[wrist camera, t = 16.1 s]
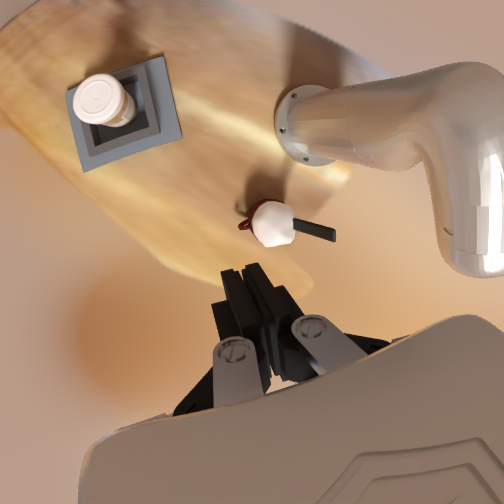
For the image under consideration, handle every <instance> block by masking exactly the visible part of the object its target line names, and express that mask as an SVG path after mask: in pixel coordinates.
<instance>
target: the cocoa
mask: <svg viewBox="0 0 504 504" xmlns="http://www.w3.org/2000/svg"><path fill="white" fill-rule="evenodd" d="M248 223H249V224H248ZM246 224H248V225H246ZM244 225H246V226H244ZM238 228H239V229H240V230H247V229H250V230H251V232H252V233H253V234H254V236H255V237H256V238H257V240H259V241H260V242H262V243H263V245H264V246H265V247H273V246H278V245H282V244H290V243H291V242H292V240H293V239H294V236H295V230H297V231H300V232H303V233H307V234H310V235H313V236H316V237H319V238H322V239H325V240H328V241H332V242H335V241H336V231H335V229H333V228H329V227H326V226H322V225H319V224H315V223H312V222H308V221H304V220H300V219H297V218H296V216H295V213H294V211H293V209H292V208H291V206H289V205H286V204H285V203H283V202H281V201H279V200H277V199H264V200H261V201H259V202H257V203H256V204H255V205H254V206H253V207H252V208H251V210H250V213H249V217H248V219H246V220H244V221H243V222H241V223H240V224H239V225H238Z"/></svg>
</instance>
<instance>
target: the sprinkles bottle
mask: <svg viewBox="0 0 504 504" xmlns="http://www.w3.org/2000/svg"><path fill="white" fill-rule="evenodd" d="M73 109H74V112H75V114H76V115H77V117H78V118H79V119H80V120H82V121H84V122H86V123H90V124H103V125H107V126H111V127H114V128H124V127H127V126H129V125H130V124H131V123H132V122H133V121H134V120H135V118H136V117H137V113H138V105H137V103H136V101H135V100H134V99H133V98H132V97H131V96H130V95H129V94H128V93H127V92H126V90H125V89H124V88H123V87H122V85H121V84H120V82H119V81H118V80H117V79H115V78H114V77H113V76H111V75H108V74H95V75H92V76H90V77H88V78H87V79H85V80H84V81H83V82H82V83H81V84H80V85H79V86H78V88H77V90H76V92H75V94H74V98H73Z"/></svg>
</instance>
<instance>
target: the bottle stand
mask: <svg viewBox="0 0 504 504" xmlns="http://www.w3.org/2000/svg"><path fill="white" fill-rule="evenodd" d="M108 75H111V76H113V77H114V78H115V79H117V80H118V81H119V82H120V84H121V85H122V87H123V88H124V89H125V90H126V92H127V93H128V94H129V95H130V96H131V97H132V98H133V99H134V100H135V101H136V103H137V105H138V113H137V117H136V118H135V120H134V121H133V122H132V123H131V124H130V125H129V126H127V127H124V128H114V127H111V126H107V125H103V124H90V123H86V122H84V121H82V120H80V119H79V118H78V117H77V115H76V114H75V112H74V109H73V98H74V94H75V92H76V90H77V88H78V86H77V87H75V88H73V89H71V90H69V91H67V92H65V96H66V102H67V107H68V112H69V117H70V122H71V126H72V131H73V135H74V139H75V143H76V147H77V151H78V155H79V158H80V162H81V165H82V169H83V172H84V173H85V172H87V171H90V170H92V169H95V168H97V167H99V166H102V165H105V164H107V163H110V162H112V161H115V160H118V159H120V158H123V157H126V156H129V155H131V154H134V153H137V152H140V151H143V150H146V149H149V148H152V147H155V146H159V145H162V144H165V143H168V142H172V141H175V140H179V139H182V135H181V131H180V127H179V123H178V119H177V115H176V110H175V106H174V102H173V98H172V93H171V89H170V84H169V80H168V75H167V71H166V66H165V61H164V57H159V58H155V59H152V60H148V61H145V62H141V63H138V64H135V65H132V66H129V67H126V68H123V69H120V70H117V71H114V72H112V73H109V74H108Z"/></svg>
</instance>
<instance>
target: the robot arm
mask: <svg viewBox="0 0 504 504" xmlns="http://www.w3.org/2000/svg"><path fill="white" fill-rule="evenodd" d="M291 95H293V98H292V96H291ZM280 129H282V132H280ZM275 132H276V136H277V138H278V141H279V143H280V145H281V147H282V148H283V150H284V151H285V152H286V153H287V154H288V155H289V156H290V157H291V158H292V159H294V160H295V161H297V162H299V163H301V164H305V165H308V166H325V165H328V164H330V163H333V162H334V161H336V160H338V161H343V162H348V163H352V164H358V165H362V166H366V167H370V168H375V169H379V170H384V171H389V172H400V171H404V170H408V169H410V168H412V167H414V166H415V165H417V164H418V163H419V162H421V161H423V163H424V166H425V170H426V174H427V179H428V183H429V186H430V192H431V199H432V205H433V212H434V220H435V228H436V236H437V241H438V246H439V249H440V252H441V255H442V257H443V258H444V260H445V262H446V263H447V264H448V265H449V266H450V267H451V268H452V269H453V270H455V271H456V272H458V273H460V274H463V275H465V276H468V277H473V278H494V277H499V276H504V75H502V74H501V73H500V72H499V71H498V70H496V69H494V68H493V67H491V66H489V65H487V64H483V63H479V62H458V63H452V64H447V65H443V66H440V67H436V68H433V69H429V70H426V71H422V72H419V73H415V74H411V75H407V76H402V77H397V78H391V79H385V80H379V81H372V82H367V83H362V84H356V85H351V86H345V87H340V88H336V89H331V90H330V89H328V88H326V87H324V86H320V85H310V84H309V85H303V86H300V87H297V88H295V89H293V90H291V91H290V92H288V93H287V94H286V95H285V96H284V97H283V99H282V100H281V101H280V103H279V105H278V107H277V110H276V114H275ZM304 158H305V160H304ZM242 276H243V280H242V277H241V275H240V273H239V271H234V270H233V269H229V270H225V271H221V277H222V281H223V286H224V290H225V294H226V299H227V300H225V301H221V302H217V303H213V304H211V305H212V310H213V314H214V318H215V322H216V325H217V329H218V333H219V337H220V341H221V342H219V343H218V344H217V345H216V347H215V348H214V351H213V367H212V368H211V369H210V370H209V371H208V373H207V374H206V375H205V376H204V377H203V378H202V379H201V380H200V381H199V382H198V384H197V385H196V386H195V387H194V388H193V389H192V390H191V391H190V392H189V394H188V395H187V396H186V397H185V398H184V399H183V400H182V401H181V402H180V403H179V405H178V406H177V407H176V408H175V410H174V413H172V414H169V415H166V414H165V413H163V414H161V415H158V416H155V417H153V418H150V419H147V420H144V421H141V422H138V423H135V424H132V425H129V426H126V427H123V428H120V429H118V430H116V431H114V432H113V433H111V434H109V435H106V436H105V437H103V438H101V439H99V440H98V441H96V442H95V443H94V444H93V445H92V446H91V447H90V448H89V449H88V451H87V452H86V454H85V457H84V459H83V462H82V467H81V472H80V478H79V488H78V490H79V491H78V504H504V332H502V331H501V330H500V329H498V328H497V327H496V326H494V325H493V324H491V323H490V322H488V321H487V320H485V319H483V318H482V317H479V316H477V315H471V314H466V315H458V316H452V317H449V318H446V319H443V320H441V321H438V322H436V323H433V324H431V325H429V326H427V327H425V328H424V329H421V330H419V331H417V332H415V333H413V334H411V335H407V336H404V337H400V338H396V339H393V340H392V342H391V343H389V342H387V341H384V340H380V339H374V338H368V337H363V336H357V335H352V334H346V333H343V332H342V331H340V330H339V329H338V328H337V327H336V326H335V325H334V324H332V323H331V322H330V321H329V320H328V319H326V318H325V317H323V316H320V315H304V313H303V312H302V311H301V309H300V308H299V306H298V305H297V304H296V302H295V301H294V299H293V298H292V297H291V295H290V294H289V292H288V291H287V290H286V288H285V287H284V286H283V285H281V286H277V287H274V286H273V285H272V283H271V282H270V280H269V279H268V277H267V276H266V274H265V273H264V271H263V270H262V268H261V266H260V265H259V263H258V262H257V263H253V264H249V265H245V269H242ZM270 366H271V368H272V370H273V372H274V375H275V376H278V375H280V376H281V378H282V381H287V380H290V381H293V382H295V385H292V386H289V387H286V388H283V389H280V390H277V391H274V392H270V393H267V394H265V393H266V391H267V390H268V388H269V387H270V385H271V382H270V378H272V375H271V369H270Z"/></svg>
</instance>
